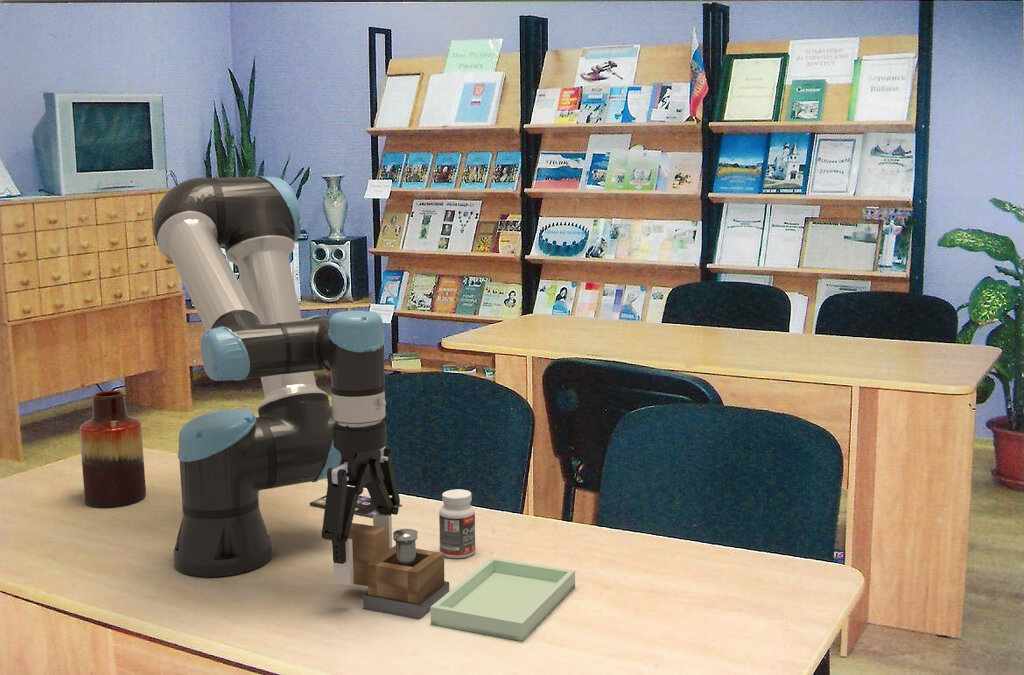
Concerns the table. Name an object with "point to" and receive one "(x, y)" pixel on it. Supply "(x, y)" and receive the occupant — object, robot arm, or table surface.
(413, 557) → the grey peg stand
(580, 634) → the table surface
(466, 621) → the tray
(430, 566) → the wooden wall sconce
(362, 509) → the smartphone
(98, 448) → the vase
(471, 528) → the pill bottle
